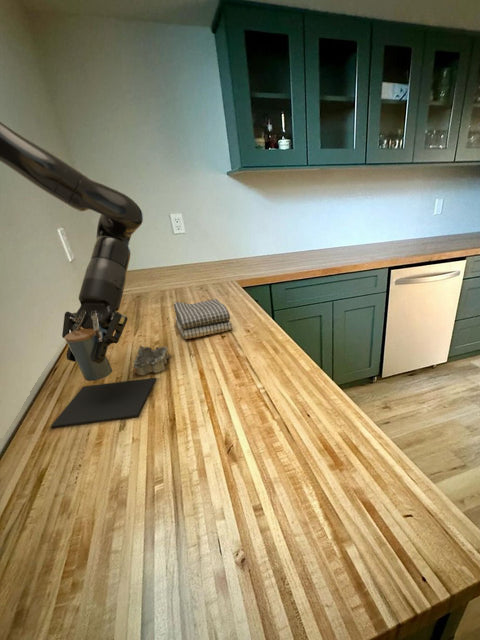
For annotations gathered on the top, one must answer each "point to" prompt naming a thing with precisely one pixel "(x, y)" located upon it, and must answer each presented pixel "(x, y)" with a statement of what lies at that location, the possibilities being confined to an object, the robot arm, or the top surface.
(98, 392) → the counter mat
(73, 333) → the sugar canister
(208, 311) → the towel
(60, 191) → the robot arm
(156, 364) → the egg carton
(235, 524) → the top surface
